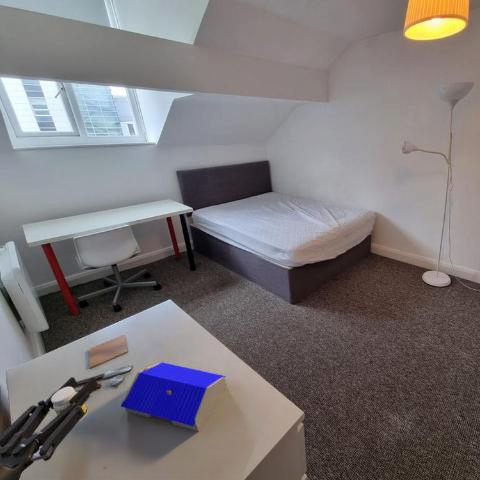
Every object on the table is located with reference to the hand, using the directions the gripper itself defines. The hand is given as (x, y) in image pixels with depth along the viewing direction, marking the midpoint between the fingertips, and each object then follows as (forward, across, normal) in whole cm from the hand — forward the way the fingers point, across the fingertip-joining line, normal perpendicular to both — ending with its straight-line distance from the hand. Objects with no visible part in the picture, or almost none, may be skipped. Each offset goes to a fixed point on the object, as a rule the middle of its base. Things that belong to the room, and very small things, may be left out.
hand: (84, 381), depth 69 cm
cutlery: (+6, -5, -9) cm, 12 cm away
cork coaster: (+18, -11, -9) cm, 23 cm away
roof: (+2, +22, -9) cm, 24 cm away
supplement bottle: (-5, 0, -6) cm, 8 cm away
